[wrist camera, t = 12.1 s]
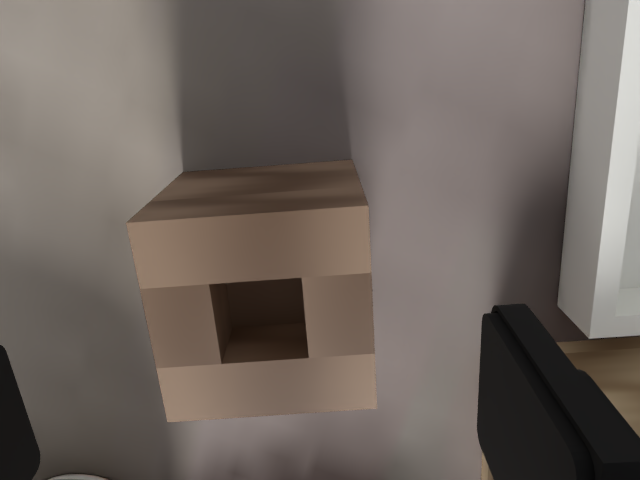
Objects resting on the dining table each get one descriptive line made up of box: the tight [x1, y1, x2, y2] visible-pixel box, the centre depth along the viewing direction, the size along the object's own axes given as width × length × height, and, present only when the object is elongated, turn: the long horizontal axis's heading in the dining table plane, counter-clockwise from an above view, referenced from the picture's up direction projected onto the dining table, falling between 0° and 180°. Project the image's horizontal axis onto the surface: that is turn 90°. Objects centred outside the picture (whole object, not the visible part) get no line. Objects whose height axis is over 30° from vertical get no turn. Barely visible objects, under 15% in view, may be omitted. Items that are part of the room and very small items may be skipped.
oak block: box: [481, 337, 640, 480], centre depth 20 cm, size 8×8×6 cm
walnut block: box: [126, 160, 377, 422], centre depth 17 cm, size 6×6×6 cm
